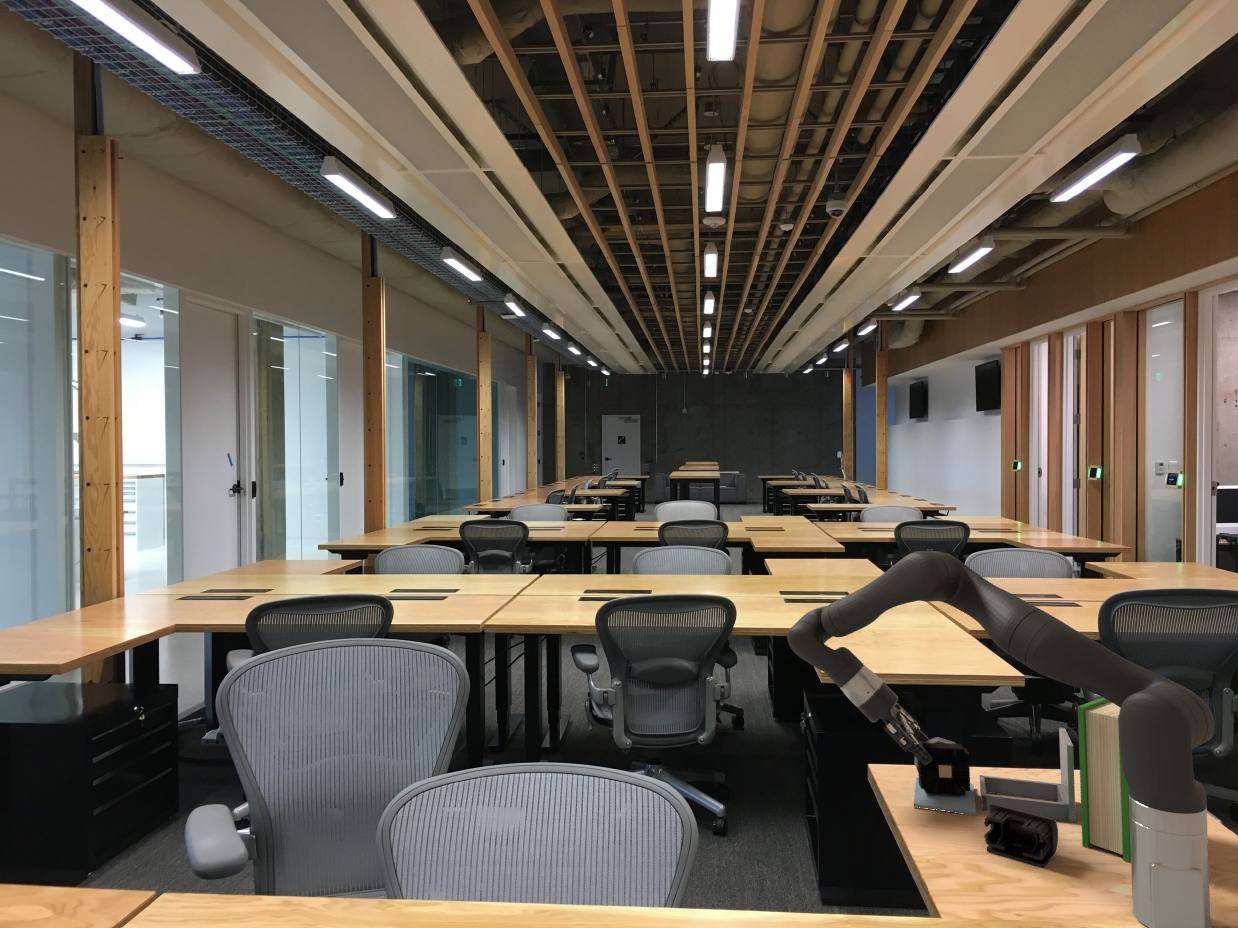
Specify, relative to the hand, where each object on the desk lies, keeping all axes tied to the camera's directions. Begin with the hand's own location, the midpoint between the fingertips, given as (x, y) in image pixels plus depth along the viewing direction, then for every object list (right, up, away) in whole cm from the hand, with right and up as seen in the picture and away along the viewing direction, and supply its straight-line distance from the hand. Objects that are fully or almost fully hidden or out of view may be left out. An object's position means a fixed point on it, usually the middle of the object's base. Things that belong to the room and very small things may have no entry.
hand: (929, 754), depth 160 cm
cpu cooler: (+3, -7, 0) cm, 8 cm away
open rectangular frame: (+16, -8, -5) cm, 18 cm away
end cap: (+6, -8, -24) cm, 26 cm away
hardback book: (+27, -7, -21) cm, 35 cm away
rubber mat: (+3, -8, -1) cm, 9 cm away
